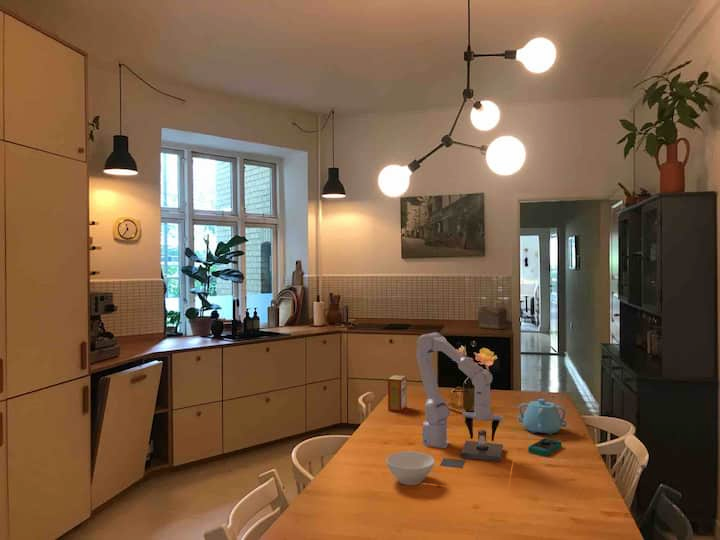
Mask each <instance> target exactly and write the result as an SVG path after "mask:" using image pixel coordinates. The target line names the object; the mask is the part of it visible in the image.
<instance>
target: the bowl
mask: <svg viewBox="0 0 720 540" xmlns="http://www.w3.org/2000/svg"><path fill="white" fill-rule="evenodd" d="M385 463H386V466H387V468H388V470H389V471H390V473H391V474H392V475H393V476H394V477H395V478H396V479H397V481H398V482H399V483H400V484H402V485H405V486H416V485H417V486H418V485H420V484H421V483H422V482H423V480H424V479H425V478H426V477H427V476H428V475H429V474H430V473H431V471H432V470H433V469H434V465H435V459H434V457H432V456H431V455H429V454H427V453H424V452H419V451H410V450H409V451H399V452H398V451H397V452H395V453H391V454H388V456H387V457H386V458H385Z"/></svg>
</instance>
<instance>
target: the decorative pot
mask: <svg viewBox="0 0 720 540" xmlns="http://www.w3.org/2000/svg"><path fill="white" fill-rule="evenodd" d="M522 407H526V408H525V411H524V413H523V410H522ZM559 410H562V416H561V414H560V413H559ZM518 411H519V412H518V413H519V416H518V417H517V422H519V423H520V424H522V423H523V426H524V428H525V429H526V430H528V431H529V432H530V433H531V434H537V433H541V434H546V435H549V436H553V435H554V434H555V433H558V432H559V430H560V429H561V428H565V427H567V426H568V422H567V421H566V420H565V417H566V415H567V411H566V408H564V407H563V406H560V405H558V406H557V405H556V404H555V403H554V402H550V401H547V399H545V398H538V399H537V400H532V401H529V403H526V402H523V403H521V404H520V405H519V407H518ZM563 423H564V424H563Z"/></svg>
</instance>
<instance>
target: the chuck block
mask: <svg viewBox="0 0 720 540" xmlns="http://www.w3.org/2000/svg"><path fill="white" fill-rule="evenodd" d="M503 451H504V444H503V443H493V442H486V451H485V450H478V441H475V440H473V441H472V440H465V442H464V445H463V446H462V449H461V451H460V458H461V459H464V460H466V459H467V460H475V461H485V462H493V463H501V460H502V456H503Z"/></svg>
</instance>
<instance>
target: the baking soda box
mask: <svg viewBox="0 0 720 540" xmlns="http://www.w3.org/2000/svg"><path fill="white" fill-rule="evenodd" d="M404 408H405V409H406V408H407V375H396V374H395V375H392V376H390V377H388V378H387V411H388V410H389V411H388V412H395V411H398V413H402V412H403V411H404V410H405V409H404ZM403 409H404V410H403ZM402 410H403V411H402ZM401 411H402V412H401Z"/></svg>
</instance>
